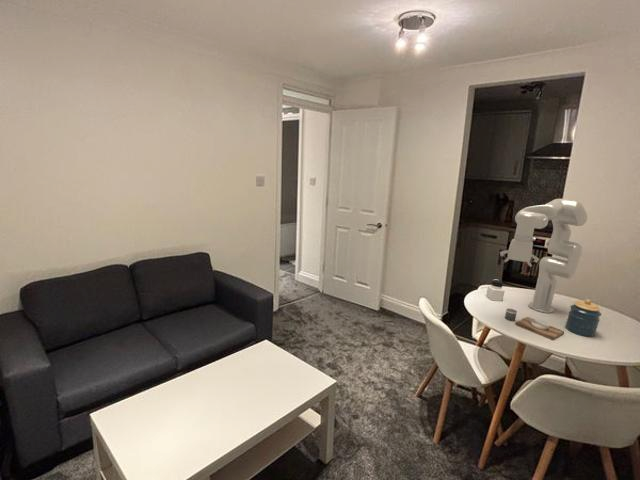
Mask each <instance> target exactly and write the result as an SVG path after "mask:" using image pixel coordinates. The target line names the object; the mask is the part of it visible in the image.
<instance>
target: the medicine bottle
mask: <svg viewBox="0 0 640 480" xmlns="http://www.w3.org/2000/svg"><path fill="white" fill-rule="evenodd" d="M503 285H504V282H503V281H502V280H500V279H492V280H491V284H490V285H487V289H486V294H485V296H486V297H487V298H488V299H489V300H490V301H493V302H495V301H496V302H503V299H504V295H505V289H504V288H503Z"/></svg>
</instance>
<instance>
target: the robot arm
mask: <svg viewBox="0 0 640 480" xmlns="http://www.w3.org/2000/svg"><path fill="white" fill-rule="evenodd" d="M514 218H515V219H514V220H515V224H516V229H515V233H514V238H512V239H511V241H510V244H509V247H508V249H507V250H502V251H500V252H499V254H500V257H501V260H503V266H502V268H503V270H504V271H506V270H507V267H508V261H509V260H510V261H511V260H512V261H516V262H517V261H518V262H522V263H526V264H527V265H526V270H525V274H526V275H528V274H529V273H530V271H531V267H533V266H535V265H536V264H537V263H538V262H539V266H538V267H539V268H538V275H537V276H538V277H537V280H536V285H535V289H534V294H533V298H532V302H529V303H528V307H529V308H531V309H532V310H534V311H537V312H540V313H545V314H552V313H553V312H554V308H552V304H553V300H554V297H555V292H556V287H557V285H558V284H557V283H558V280H557V278H556V276H557V277H560V278H565V279H571V278H574V276H575V274H576V271H577V269H578V267H579V264H580V263H579V262H580V260H581V257H582V254H583V247H582V245H581V244H580V243H578V242H576V241H575V242H574V241H570V237H571V235H572V230H571V228H570V226H575V227H581V226H584V225H585V224H586V223H587V220H588V213H587V211H586V209H585V207H584V205H583V204H582V203H581V202H580V201H578V200H574V199H566V198H565V199H564V198H555V199H553V200H551V201H549V202H547V203H545V204H540V205H533V206H527V207H524V208H522V209H521V210H519V211H518V212H517V213H516V215H515V217H514ZM549 221H551V223H552V229H553V230H552V234H551V237H550V238H549V239H550V240H549V243H548V247H547V252H548V253H549V254H550V255H552V256H543V257H542V258H541V259H540V258H539V257H537V256H536V255H534V254H533V246H534V243H533V241H536V237H534V232H535V229H538V230H541V229H545V227H547V225H548V224H549ZM505 254H507V256H506V257H505V256H504V255H505ZM553 255H554V256H557V257H554V256H553ZM558 257H561V258H558ZM562 258H565V259H567V260H565V259H562ZM532 259H534V260H533V261H531V260H532Z"/></svg>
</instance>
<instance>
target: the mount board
mask: <svg viewBox="0 0 640 480" xmlns="http://www.w3.org/2000/svg"><path fill="white" fill-rule="evenodd" d="M515 326H518V327H520V328H523V329H525V330H528V331H530V332H532V333H535V334H537V335H539V336H542V337H543V338H545V339H549V340H551V341H554V340H556V339H558V338H560V337H561V336H563V335H564V334H565V331H564V330H562V329H559V328H557V327H554V326H551V325H549V323H547V322H544V321H542V320H536V319H533V318H532V317H529V316H526V317H524V318H522V319H519V320H517V321H516V322H515Z"/></svg>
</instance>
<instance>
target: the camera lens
mask: <svg viewBox="0 0 640 480" xmlns="http://www.w3.org/2000/svg"><path fill="white" fill-rule="evenodd" d="M517 313H518V311H517V310H515V309H513V308H510V307H509V308H506V311H505V315H504V319H506V321H510V322H515V321H516V317H517Z"/></svg>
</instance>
